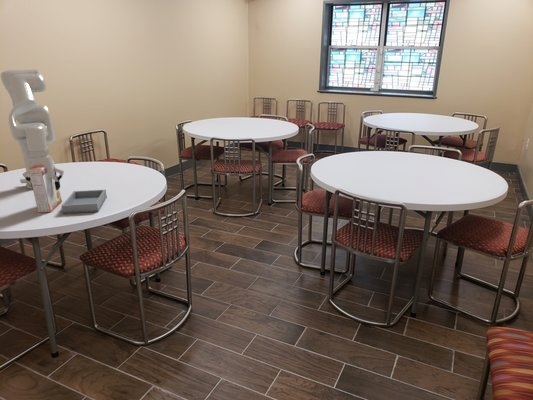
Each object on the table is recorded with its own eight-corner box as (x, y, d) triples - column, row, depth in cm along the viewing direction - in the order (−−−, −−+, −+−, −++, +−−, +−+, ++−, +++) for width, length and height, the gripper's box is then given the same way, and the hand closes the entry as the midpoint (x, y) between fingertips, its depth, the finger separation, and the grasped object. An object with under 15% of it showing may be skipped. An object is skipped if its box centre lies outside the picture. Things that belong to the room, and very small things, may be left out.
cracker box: (49, 202, 197) (41, 160, 190) (62, 201, 198) (54, 160, 190) (36, 213, 184) (27, 168, 177) (50, 212, 184) (41, 168, 177)
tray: (63, 214, 183) (61, 205, 181) (75, 198, 201) (73, 191, 200) (98, 211, 185) (97, 203, 184) (106, 197, 204) (105, 189, 202)
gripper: (15, 156, 177) (23, 193, 183) (57, 154, 180) (64, 191, 185) (21, 152, 184) (29, 188, 190) (62, 150, 186) (69, 186, 192)
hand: (46, 189), depth 188 cm, fingers open, 9 cm apart
